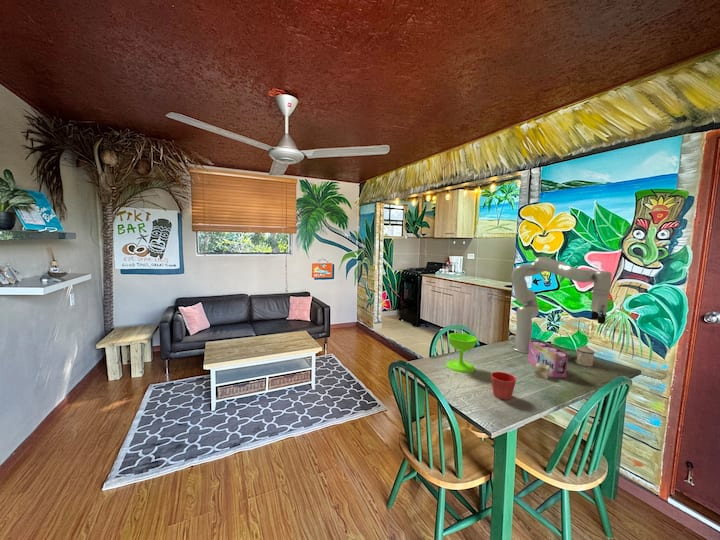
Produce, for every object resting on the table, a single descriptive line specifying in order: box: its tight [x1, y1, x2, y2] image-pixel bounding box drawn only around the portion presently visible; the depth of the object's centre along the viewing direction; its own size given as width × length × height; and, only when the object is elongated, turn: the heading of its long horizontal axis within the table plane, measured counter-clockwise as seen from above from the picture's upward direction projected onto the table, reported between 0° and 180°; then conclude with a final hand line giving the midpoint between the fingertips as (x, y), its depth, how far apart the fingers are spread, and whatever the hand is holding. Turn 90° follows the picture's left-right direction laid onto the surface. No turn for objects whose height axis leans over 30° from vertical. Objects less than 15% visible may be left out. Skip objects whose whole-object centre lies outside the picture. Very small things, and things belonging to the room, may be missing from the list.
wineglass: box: [446, 332, 478, 374], centre depth 173 cm, size 16×16×18 cm
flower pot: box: [490, 371, 517, 401], centre depth 141 cm, size 11×11×10 cm
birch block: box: [534, 363, 550, 380], centre depth 165 cm, size 6×6×6 cm
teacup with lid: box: [575, 345, 595, 367], centre depth 184 cm, size 12×9×12 cm
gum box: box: [527, 340, 569, 378], centre depth 174 cm, size 24×8×14 cm, turn 5°
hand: (597, 321), depth 172 cm, fingers open, 9 cm apart
